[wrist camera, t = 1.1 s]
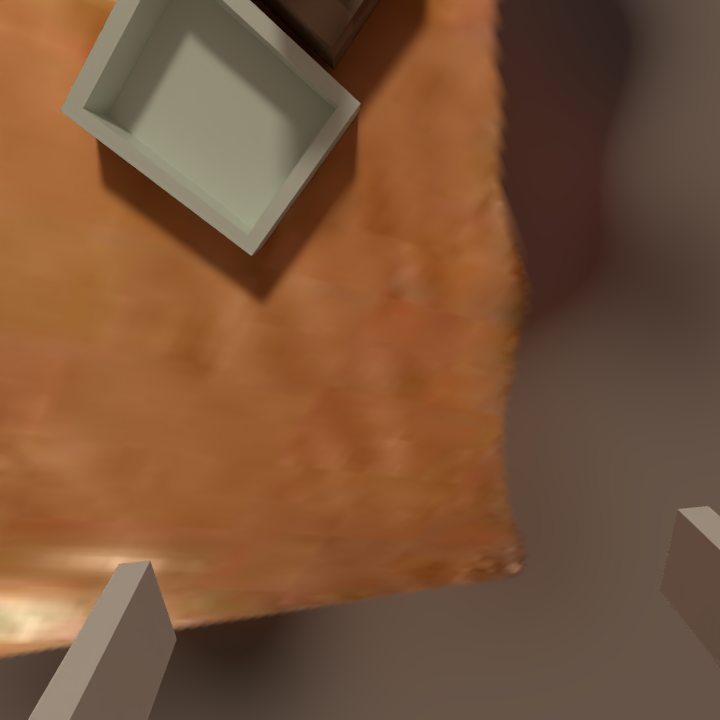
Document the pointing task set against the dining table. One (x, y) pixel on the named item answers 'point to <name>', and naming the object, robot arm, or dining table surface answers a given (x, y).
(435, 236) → the dining table surface
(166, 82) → the tray
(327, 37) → the block
